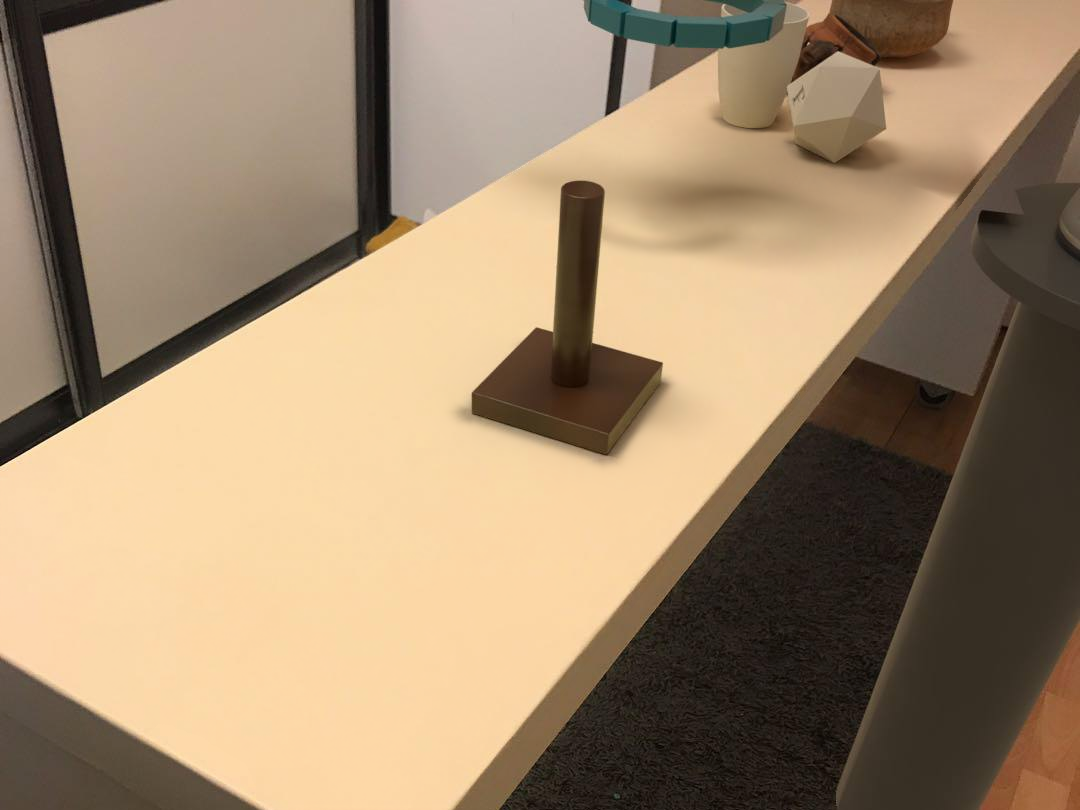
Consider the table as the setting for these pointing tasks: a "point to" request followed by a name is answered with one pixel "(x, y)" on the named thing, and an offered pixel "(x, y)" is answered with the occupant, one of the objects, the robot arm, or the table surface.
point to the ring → (690, 24)
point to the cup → (759, 71)
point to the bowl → (897, 23)
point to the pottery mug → (833, 44)
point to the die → (837, 106)
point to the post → (571, 350)
